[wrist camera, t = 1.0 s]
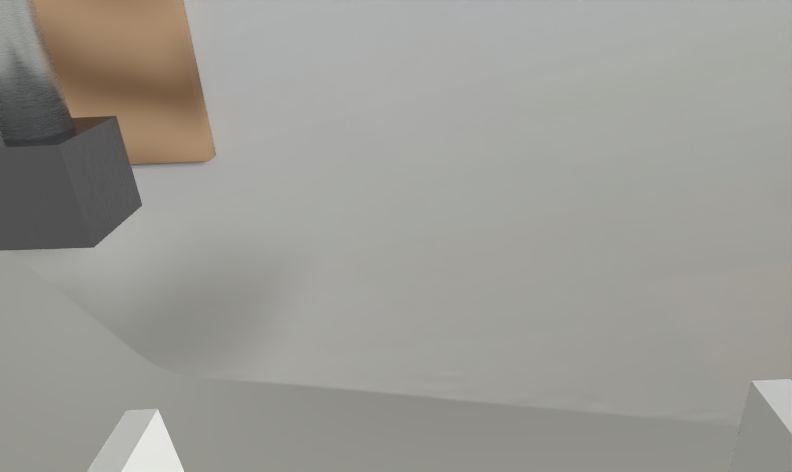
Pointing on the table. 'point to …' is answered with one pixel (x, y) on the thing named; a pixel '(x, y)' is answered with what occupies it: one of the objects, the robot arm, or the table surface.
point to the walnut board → (132, 73)
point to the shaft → (53, 150)
